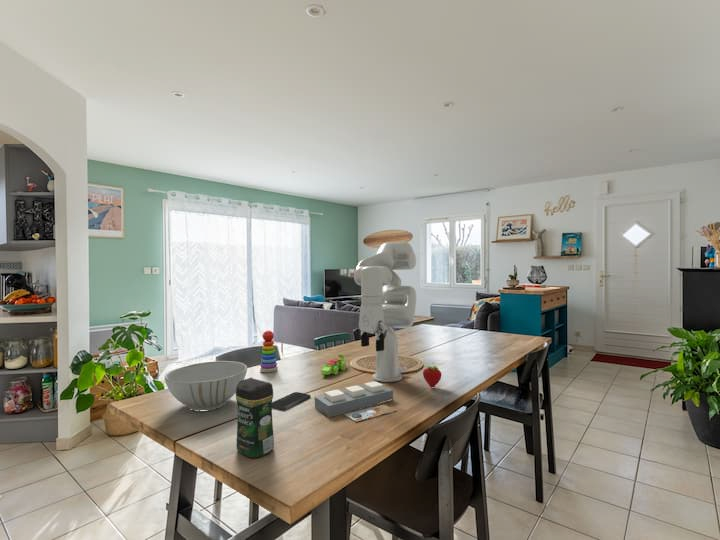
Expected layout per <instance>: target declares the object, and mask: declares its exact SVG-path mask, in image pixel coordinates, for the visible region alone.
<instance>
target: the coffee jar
mask: <svg viewBox="0 0 720 540" xmlns="http://www.w3.org/2000/svg"><path fill="white" fill-rule="evenodd" d="M273 399H274V389H273V384H272V382H269V381H264V380H260V379H257V378H253V377H248V378H244V380H241V381H239V383H238V384H237V386H236V393H235V400H236V406H237V409H236V411H237V413H236V414H237V416H236V418H237V419H236V426H237V427H236V450H237V452H238V453H240V454H241V455H243V456H246V457H248V458H252V459H255V458H260V457H264V456H266V455H268V454H270V453H271V452H272V451H273V450H274V448H275V437H274V436H275V435H274V425H273V408H272V402H273Z"/></svg>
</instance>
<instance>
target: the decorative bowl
mask: <svg viewBox="0 0 720 540" xmlns="http://www.w3.org/2000/svg"><path fill="white" fill-rule="evenodd" d="M247 372H248V366H247V365H246V364H245V363H243V362H239V361H230V360H215V361H213V360H212V361H203V362H196V363H191V364H187V365H183V366H180V367H176V368H174V369H171V370H170V371H168V372H167V373H165V375H164V381H165V384H166V387H167V388H168V390H169V392H170V394H171V395H172V396H173V397H174V398H175V399H176V400H177V401H178V402H180V403H181V404H183V405H184V406H187V407H188V409H189V408H190V409H192V410H191V411H193V410H199V411H198V412H201V411H200V410H210V411H213V410H212V409H214V410H217V409H216V408H218V409H220V408H222V407H224V406H225V405H226V404H227V403H228V401H229V400H230V399H231V398H233V397H234V396H235V395H236V386H237V384H238V383H239V381H241V380H245V379H246V374H247ZM223 405H224V406H223ZM221 406H222V407H221ZM219 407H220V408H219ZM190 409H189V410H190Z"/></svg>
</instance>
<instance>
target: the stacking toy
mask: <svg viewBox="0 0 720 540" xmlns="http://www.w3.org/2000/svg"><path fill="white" fill-rule="evenodd" d="M274 337H275V335H274V332H273V331H271V330H265V331H264V332H263V333H262V339H263V342H262V345H263V346H262V347H261V348H262V351H261V353H262V354H261V361H260V362H261V363H260V364H259V365H260V368H259V371H260V372H261V373H265V374H268V373H274V372H277V370H278V369H279V368H278V363H277V357H276V356H277V353H276V349H275V345H274V344H275V341H274V340H273V339H274Z"/></svg>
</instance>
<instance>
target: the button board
mask: <svg viewBox="0 0 720 540" xmlns="http://www.w3.org/2000/svg"><path fill="white" fill-rule="evenodd" d="M360 387H362V388H364V385H362V386H360ZM340 391H341V392H343V393H345V389H343V390H340ZM390 399H393V400H394V390H393V389H391V388H389V387H387V386H384V385H383V390H381V391H377V392H373V393H371V392H369V391H367V390H365V395H360V396H356V397H350V396H349V395H347V394H345V399H344V400H340V401H335V402H330V401H328V400H327V399H325V394H322V395H317V396H314V409H316V410H318V411H320V413H322V414H323V415H325V416H326V415H327V416H326V417H328V418H331V417H334V416H339V415H342V413H343V414H346V413H345V412H347V413H350V412H354V411H357V410H356V409H358V410H361V409H360V408H362V409H364V408H363V407H366V408H368V407H367V406H369V407H371V406H370V405H373V406H375V405H374V404H377V403H380V402H383V401H387V400H390ZM377 405H378V404H377ZM353 410H354V411H353ZM349 411H350V412H349Z"/></svg>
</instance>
